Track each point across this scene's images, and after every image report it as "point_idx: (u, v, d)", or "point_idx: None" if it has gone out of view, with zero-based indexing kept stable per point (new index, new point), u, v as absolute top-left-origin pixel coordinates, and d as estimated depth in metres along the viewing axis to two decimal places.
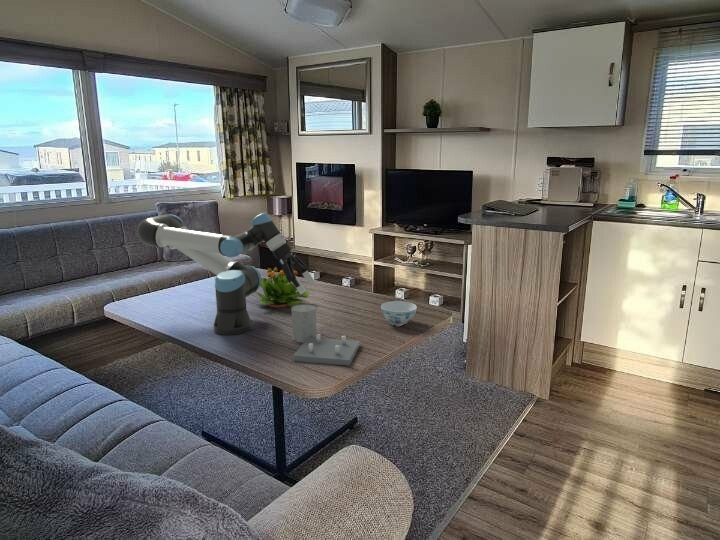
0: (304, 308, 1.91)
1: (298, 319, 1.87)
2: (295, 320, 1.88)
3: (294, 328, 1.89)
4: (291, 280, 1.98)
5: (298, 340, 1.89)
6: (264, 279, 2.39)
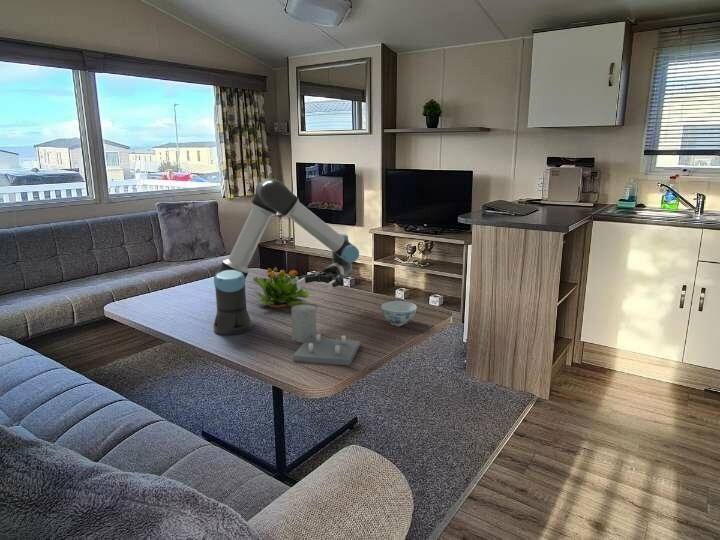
0: (304, 308, 1.91)
1: (298, 319, 1.87)
2: (295, 320, 1.88)
3: (294, 328, 1.89)
4: (339, 282, 2.01)
5: (298, 340, 1.89)
6: (264, 279, 2.39)
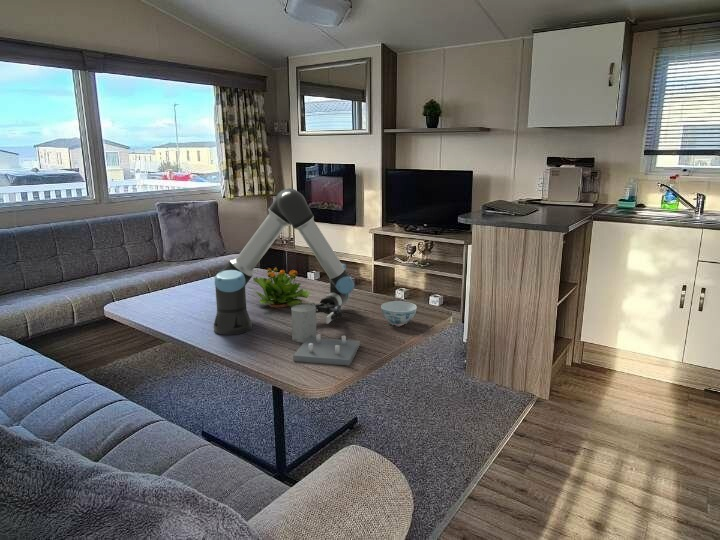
0: (304, 308, 1.91)
1: (298, 319, 1.87)
2: (295, 320, 1.88)
3: (294, 328, 1.89)
4: (337, 314, 2.00)
5: (298, 340, 1.89)
6: (264, 279, 2.39)
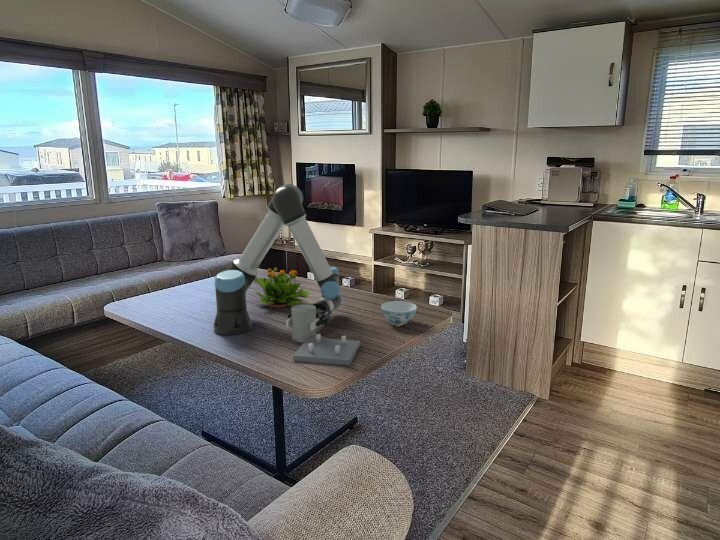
0: (304, 308, 1.91)
1: (298, 319, 1.87)
2: (295, 320, 1.88)
3: (294, 328, 1.89)
4: (323, 321, 1.92)
5: (298, 340, 1.89)
6: (264, 279, 2.39)
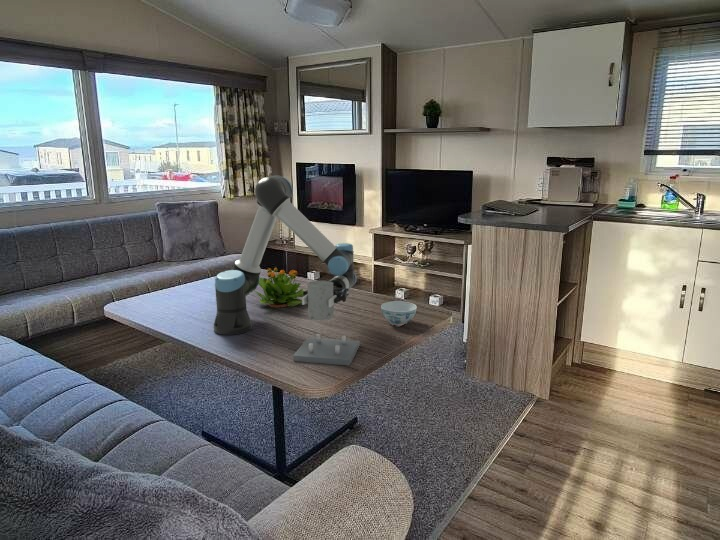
0: (321, 284, 1.80)
1: (315, 295, 1.77)
2: (312, 297, 1.77)
3: (311, 305, 1.79)
4: (341, 297, 1.82)
5: (315, 318, 1.79)
6: (264, 279, 2.39)
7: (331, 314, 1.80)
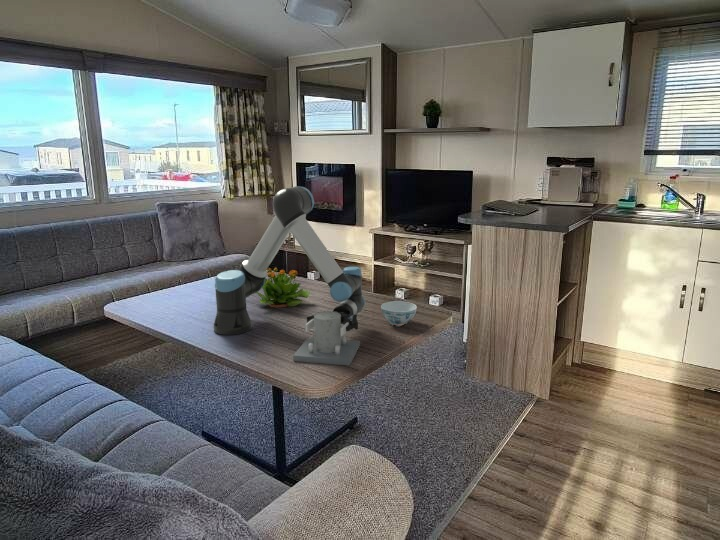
0: (328, 315, 1.75)
1: (321, 327, 1.72)
2: (319, 329, 1.72)
3: (317, 337, 1.74)
4: (353, 325, 1.77)
5: (321, 350, 1.74)
6: None
7: None
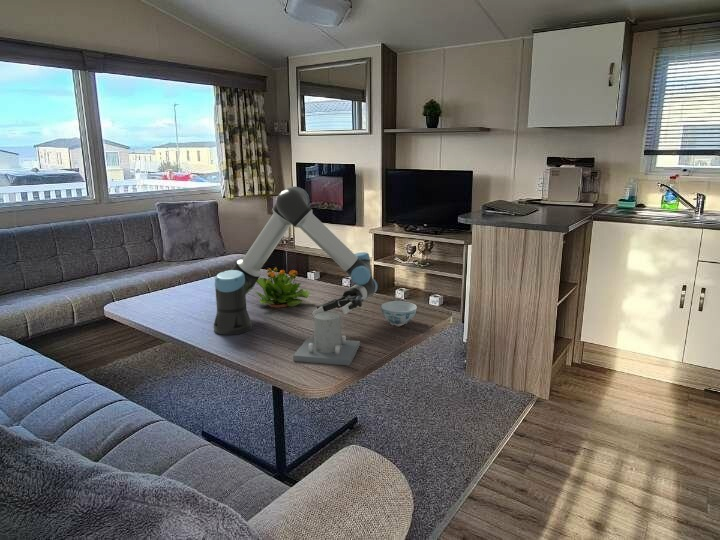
0: (328, 315, 1.76)
1: (321, 327, 1.72)
2: (319, 329, 1.72)
3: (317, 337, 1.74)
4: (356, 303, 1.87)
5: (321, 350, 1.74)
6: (264, 279, 2.39)
7: None
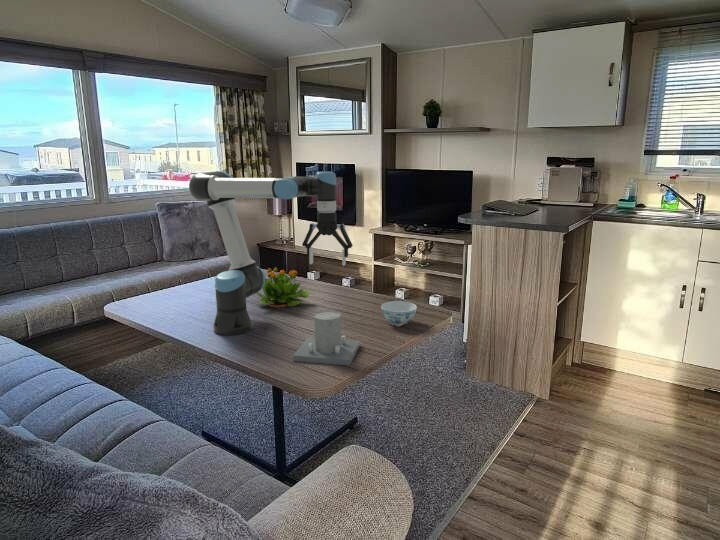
0: (328, 315, 1.75)
1: (321, 327, 1.72)
2: (319, 329, 1.72)
3: (317, 337, 1.74)
4: None
5: (321, 350, 1.74)
6: None
7: None
